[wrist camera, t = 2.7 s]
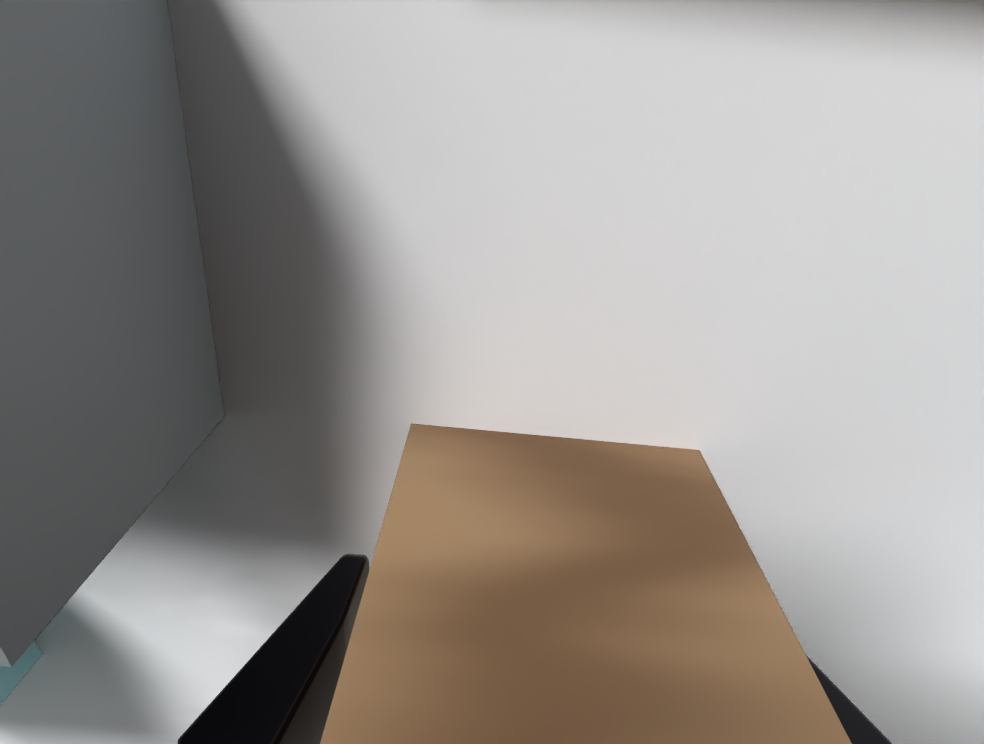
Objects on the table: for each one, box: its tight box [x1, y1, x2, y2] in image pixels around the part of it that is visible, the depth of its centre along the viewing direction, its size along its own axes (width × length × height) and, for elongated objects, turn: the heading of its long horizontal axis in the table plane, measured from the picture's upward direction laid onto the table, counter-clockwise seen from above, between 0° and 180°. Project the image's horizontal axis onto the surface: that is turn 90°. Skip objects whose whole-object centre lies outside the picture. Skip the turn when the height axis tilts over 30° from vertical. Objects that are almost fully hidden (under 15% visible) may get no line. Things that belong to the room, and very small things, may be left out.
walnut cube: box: [320, 424, 852, 744], centre depth 8 cm, size 5×5×5 cm
